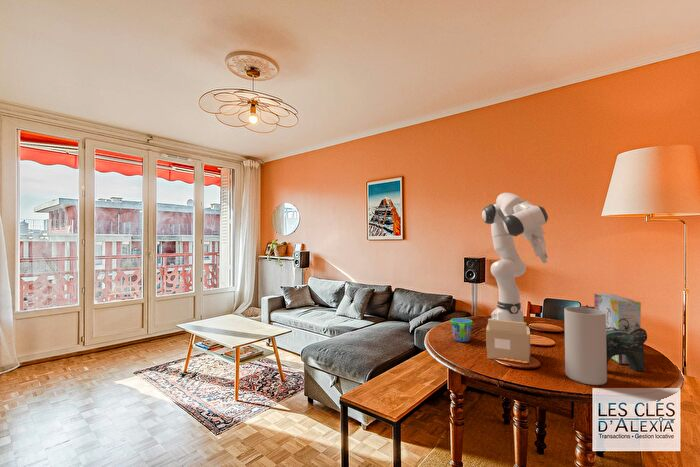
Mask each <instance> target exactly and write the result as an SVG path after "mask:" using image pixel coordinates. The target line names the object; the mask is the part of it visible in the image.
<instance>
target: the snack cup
mask: <svg viewBox="0 0 700 467" xmlns="http://www.w3.org/2000/svg"><path fill="white" fill-rule="evenodd" d="M473 323H474V322H473V320H472V319H469V318H464V317H463V318H462V317H455V318H451V319H450V324H451V329H452V334H453V339H454V341H456V342H459V343H460V342H461V343H466V342H469V341H470V340H471V333H472V326H473Z"/></svg>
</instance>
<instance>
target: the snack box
mask: <svg viewBox="0 0 700 467" xmlns="http://www.w3.org/2000/svg"><path fill="white" fill-rule="evenodd" d="M593 295H594V299H593V300H594V307H595V309H598V310H602V311H604V312H606V328H609V327H611V328H615V329H618V330H623V329H624V328H625V327H624V326H623V325H627V326H628V323H627V321H628V322H629V326H635V325H636V323H638V325H639V326H640V328H642V326H641V322H642V321H641V318H642V316H641V315H642V313H641V312H642V311H641V306H642V302H640V301H637V300H634V299H631V298H627V297H624V296H621V295H618V294H617V295H616V294H614V293H600V292H599V293H598V292H597V293H596V292H594V294H593ZM620 319H626V320H627V321H626V320H621V321H620V322H618V321H619V320H620ZM611 328H609V329H606V331H609V330H615V329H611ZM611 360H613V361H615V362H616V363H618V364H620V365H621V364H623V365H629V362H628V359H627V357H626V356H625V355H615V356H613V357H612V358H611Z"/></svg>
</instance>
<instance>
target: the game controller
mask: <svg viewBox="0 0 700 467" xmlns="http://www.w3.org/2000/svg"><path fill="white" fill-rule="evenodd" d="M621 320H626V319H620V320H619V321H618V322H620V321H621ZM626 321H627V320H626ZM627 323H628V326H627V325H623V326H624V327H625V328H624V329H623V330H618V329H615V328H611V327H609V328H611V329H615V330H609V331H606V352H607V367H608V365H609V361H610V360H612V357H613V356H615V355H625V356H626V357H627V359H628V362H629V364H628V365H629V366H628V367H629V369H631V370H632V371H635V372H645V351H644V344H645V342H646V341H647V340H648V332H647V331H646V329H644V328H642V327H641V328H640V326H639V325H638V323H636V325H635V326H629V322H628V321H627ZM609 328H606V329H609Z"/></svg>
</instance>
